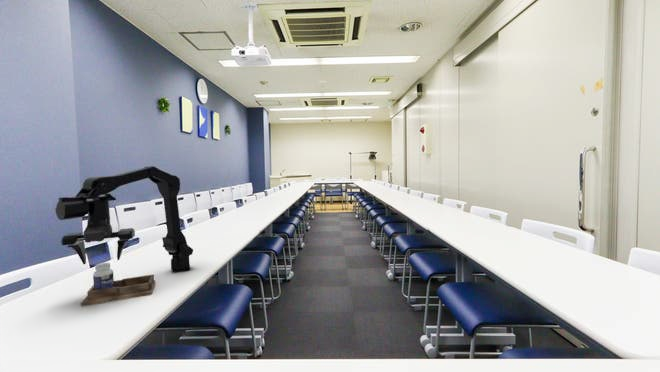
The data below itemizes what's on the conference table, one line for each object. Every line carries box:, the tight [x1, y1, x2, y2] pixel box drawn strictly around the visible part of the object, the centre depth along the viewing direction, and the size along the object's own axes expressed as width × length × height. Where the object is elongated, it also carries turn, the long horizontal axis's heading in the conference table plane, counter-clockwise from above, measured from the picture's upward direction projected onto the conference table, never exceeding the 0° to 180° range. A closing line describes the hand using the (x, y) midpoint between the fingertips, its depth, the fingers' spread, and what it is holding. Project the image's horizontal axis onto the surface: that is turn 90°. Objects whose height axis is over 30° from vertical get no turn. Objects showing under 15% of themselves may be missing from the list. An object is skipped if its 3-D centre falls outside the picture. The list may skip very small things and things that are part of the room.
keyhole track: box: [80, 274, 156, 307], centre depth 104 cm, size 19×12×4 cm, turn 115°
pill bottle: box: [92, 262, 115, 290], centre depth 101 cm, size 5×5×10 cm
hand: (101, 261), depth 101 cm, fingers open, 9 cm apart
